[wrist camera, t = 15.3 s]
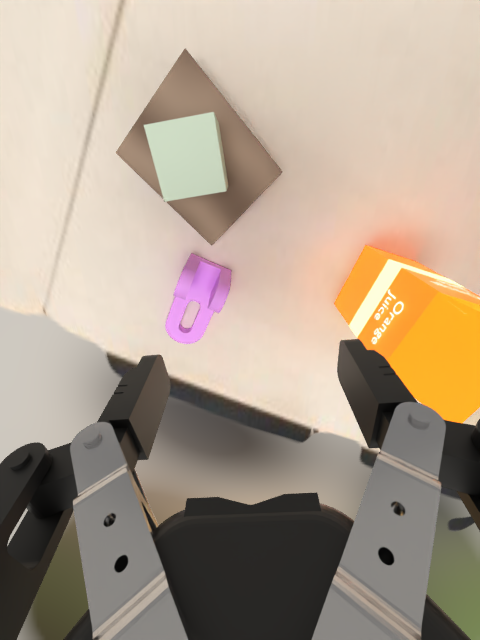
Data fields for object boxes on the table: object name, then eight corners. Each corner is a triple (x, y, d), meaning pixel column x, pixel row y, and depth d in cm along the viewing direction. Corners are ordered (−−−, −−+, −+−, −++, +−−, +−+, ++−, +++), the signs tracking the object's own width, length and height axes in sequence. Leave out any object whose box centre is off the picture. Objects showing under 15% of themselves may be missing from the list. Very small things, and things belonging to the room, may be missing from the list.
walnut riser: (194, 67, 25) (185, 48, 21) (276, 170, 30) (282, 171, 25) (133, 154, 29) (115, 152, 25) (215, 235, 33) (211, 245, 29)
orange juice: (417, 261, 35) (594, 357, 18) (380, 317, 39) (493, 439, 22) (364, 243, 34) (498, 328, 16) (332, 303, 38) (411, 420, 21)
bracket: (191, 253, 34) (181, 272, 28) (231, 270, 35) (229, 291, 29) (163, 330, 40) (149, 360, 34) (198, 343, 41) (191, 373, 35)
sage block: (218, 123, 24) (213, 111, 18) (228, 185, 26) (226, 191, 21) (163, 133, 24) (143, 125, 19) (178, 194, 26) (164, 201, 21)
